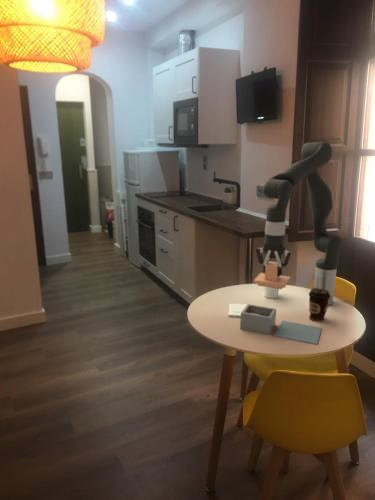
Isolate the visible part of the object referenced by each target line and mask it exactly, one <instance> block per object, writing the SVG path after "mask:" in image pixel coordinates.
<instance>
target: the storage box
mask: <svg viewBox="0 0 375 500" xmlns="http://www.w3.org/2000/svg"><path fill="white" fill-rule="evenodd" d="M246 305H247V306H246V307H245V308H244V310H243V311H242V312H241V317H240V323H239V329H240V330H244V331H249V332H254V333H259V334H264V335H269V336H270V335H271V333H272V331H273V329H274V327H275V326H276V319H277V318H276V316H277V308H273V307H267V306H261V305H255V304H251V303H250V304H249V303H247V304H246Z"/></svg>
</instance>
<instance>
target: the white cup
mask: <svg viewBox="0 0 375 500" xmlns="http://www.w3.org/2000/svg"><path fill="white" fill-rule="evenodd" d="M279 292H280V289H277V288H270V287H264V286H263V297H264V298H266V299H267V298H268V299H271V300H272V299H277V298H278V297H279Z"/></svg>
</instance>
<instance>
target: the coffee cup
mask: <svg viewBox="0 0 375 500" xmlns="http://www.w3.org/2000/svg"><path fill="white" fill-rule="evenodd" d="M308 295H309V298H308V299H309V300H308V304H309V305H308V306H309V309H308V310H309V311H308V312H309V314H310V315H309V319H310V320H311V321H313V322H316V323H317V322H318V323H323V322H325V316H326V314H327V310H328V307H329V305H328V301H329V299H330V294H329V292H328V291H327V290H324V289H318V288H314V287H313V288H312V289H310V291H309V293H308Z"/></svg>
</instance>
